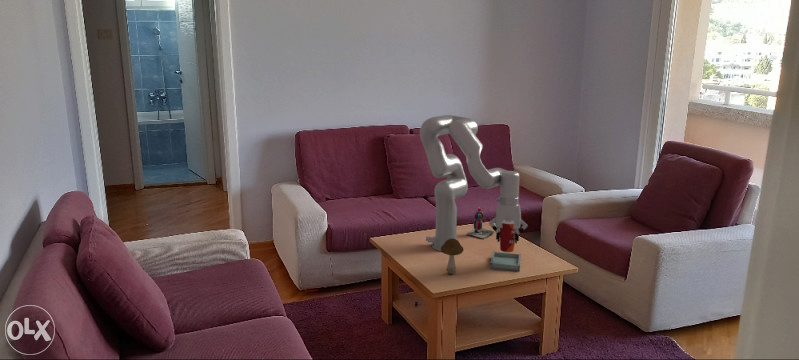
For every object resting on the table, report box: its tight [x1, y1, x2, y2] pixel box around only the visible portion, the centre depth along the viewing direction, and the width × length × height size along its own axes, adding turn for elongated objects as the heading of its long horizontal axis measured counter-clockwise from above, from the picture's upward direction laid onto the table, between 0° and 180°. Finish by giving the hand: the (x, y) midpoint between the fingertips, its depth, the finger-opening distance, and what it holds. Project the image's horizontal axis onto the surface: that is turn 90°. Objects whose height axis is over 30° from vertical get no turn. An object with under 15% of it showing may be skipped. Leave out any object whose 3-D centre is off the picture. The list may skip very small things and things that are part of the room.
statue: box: [466, 206, 495, 240], centre depth 284 cm, size 11×9×15 cm
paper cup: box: [499, 220, 516, 253], centre depth 246 cm, size 8×8×14 cm
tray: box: [489, 251, 522, 272], centre depth 249 cm, size 12×14×2 cm
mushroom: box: [440, 238, 465, 275], centre depth 237 cm, size 9×11×15 cm
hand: (507, 241), depth 247 cm, fingers closed on paper cup, 6 cm apart
